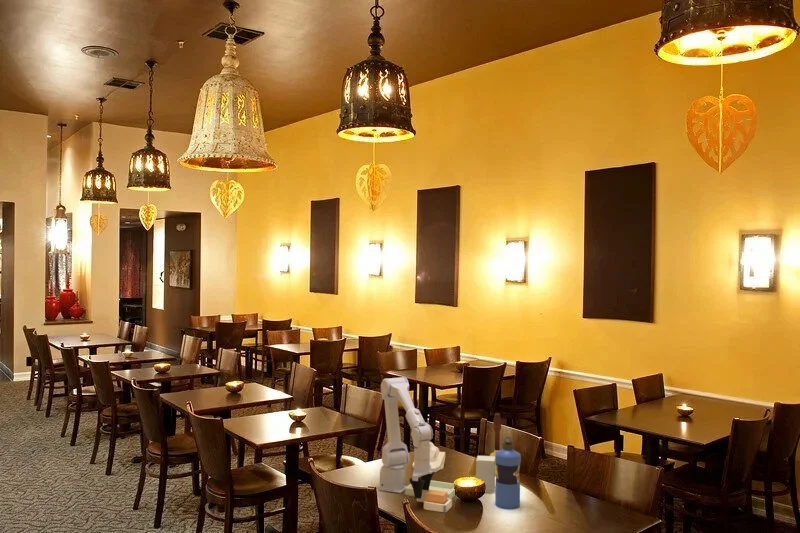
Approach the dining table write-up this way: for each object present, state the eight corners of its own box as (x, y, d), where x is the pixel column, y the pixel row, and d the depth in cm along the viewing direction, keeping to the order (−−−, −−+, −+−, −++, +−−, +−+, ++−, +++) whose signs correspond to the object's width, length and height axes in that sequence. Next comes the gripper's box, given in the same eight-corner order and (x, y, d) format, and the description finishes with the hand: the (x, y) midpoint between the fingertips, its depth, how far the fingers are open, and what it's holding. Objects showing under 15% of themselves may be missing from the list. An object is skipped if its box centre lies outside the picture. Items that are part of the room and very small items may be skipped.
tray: (404, 494, 254) (404, 488, 254) (417, 484, 266) (417, 478, 266) (449, 501, 247) (449, 494, 247) (459, 490, 259) (459, 484, 259)
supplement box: (494, 493, 257) (494, 461, 257) (475, 492, 258) (475, 460, 258) (495, 487, 264) (495, 456, 264) (476, 486, 265) (477, 454, 265)
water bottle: (522, 502, 247) (522, 435, 247) (518, 510, 238) (518, 441, 239) (497, 499, 250) (497, 433, 250) (492, 507, 242) (493, 439, 242)
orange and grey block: (415, 506, 242) (415, 491, 242) (419, 502, 246) (419, 487, 246) (443, 510, 238) (443, 495, 238) (447, 506, 242) (447, 491, 242)
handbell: (490, 465, 294) (491, 409, 295) (516, 470, 287) (516, 412, 287) (477, 471, 284) (477, 413, 285) (503, 477, 277) (503, 417, 277)
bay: (423, 509, 239) (423, 502, 239) (430, 502, 246) (430, 495, 246) (445, 512, 236) (445, 505, 236) (452, 505, 243) (452, 499, 243)
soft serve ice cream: (448, 476, 283) (446, 446, 279) (413, 478, 283) (410, 449, 280) (445, 460, 295) (443, 432, 292) (412, 463, 295) (410, 434, 292)
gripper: (425, 464, 236) (425, 502, 235) (438, 454, 249) (438, 490, 249) (406, 462, 238) (406, 499, 238) (421, 452, 252) (421, 487, 251)
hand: (421, 494), depth 244 cm, fingers open, 7 cm apart
